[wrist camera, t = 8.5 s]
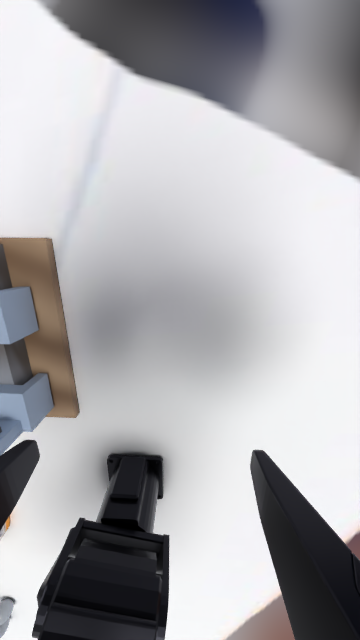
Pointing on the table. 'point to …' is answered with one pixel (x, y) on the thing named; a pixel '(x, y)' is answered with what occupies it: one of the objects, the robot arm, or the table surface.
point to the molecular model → (5, 614)
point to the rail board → (51, 339)
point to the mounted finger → (23, 408)
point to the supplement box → (5, 527)
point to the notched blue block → (16, 314)
